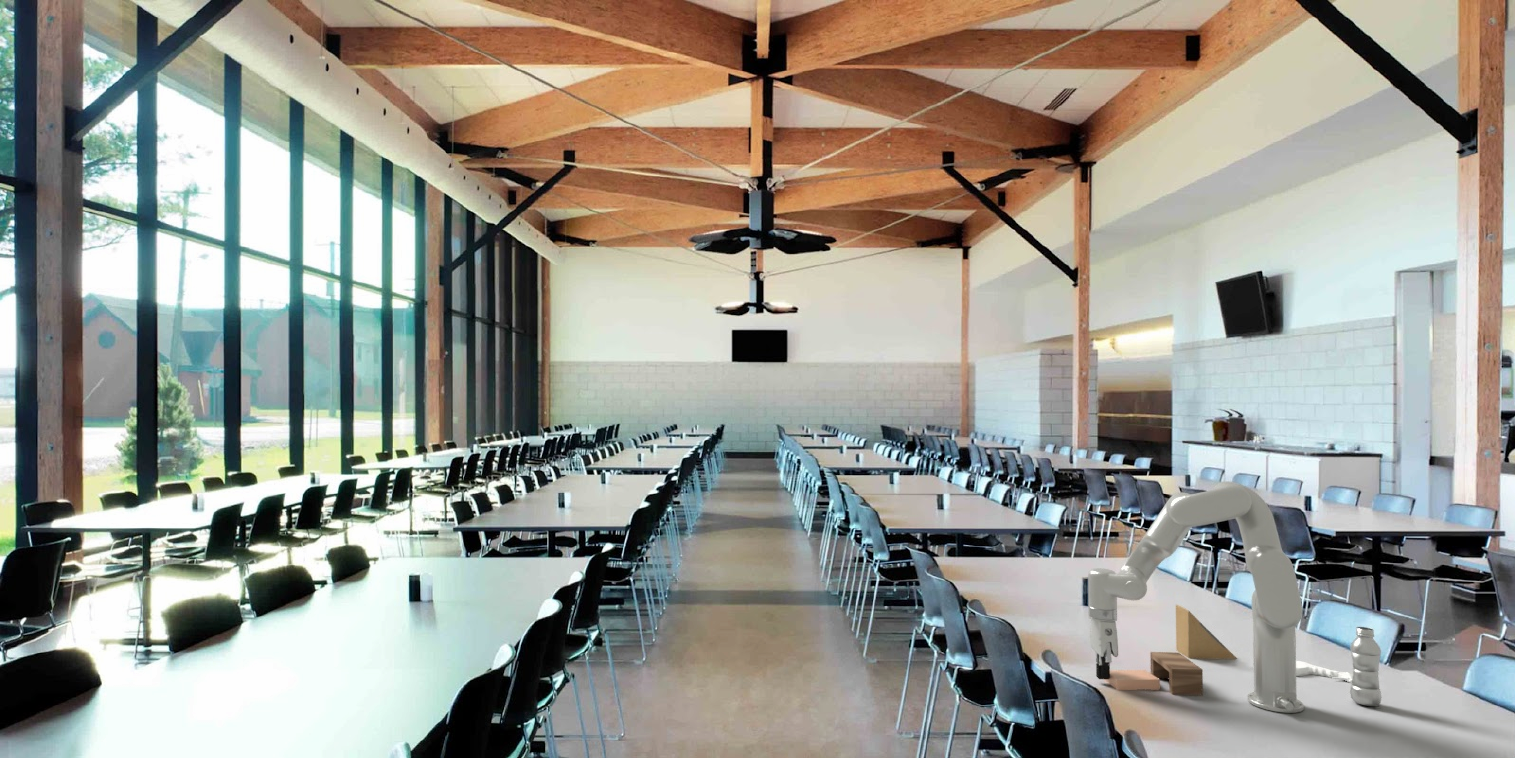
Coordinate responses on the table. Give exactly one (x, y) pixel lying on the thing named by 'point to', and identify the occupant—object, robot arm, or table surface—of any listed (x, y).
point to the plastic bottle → (1365, 668)
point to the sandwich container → (1197, 638)
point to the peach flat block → (1133, 680)
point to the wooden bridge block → (1177, 673)
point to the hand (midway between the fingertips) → (1103, 678)
